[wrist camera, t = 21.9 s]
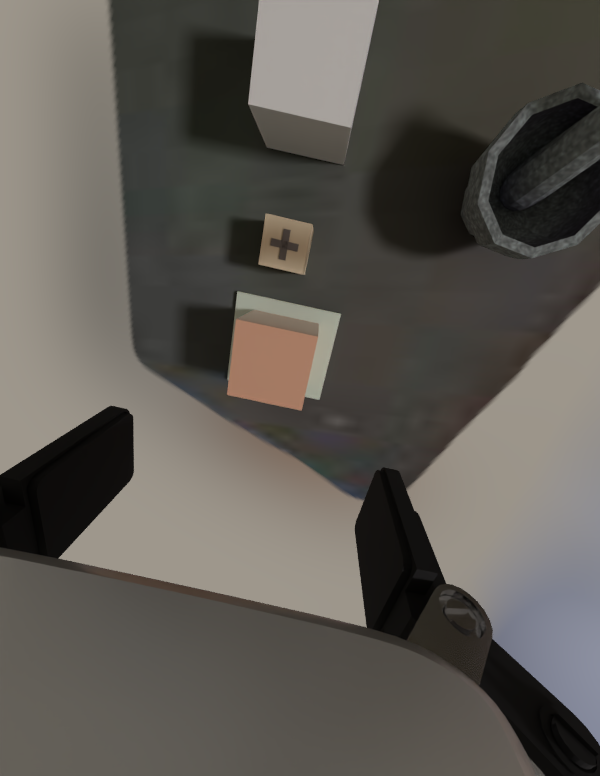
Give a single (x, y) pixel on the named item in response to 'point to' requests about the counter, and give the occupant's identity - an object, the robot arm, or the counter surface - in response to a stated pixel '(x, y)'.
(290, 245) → the tan plus cube
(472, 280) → the counter surface
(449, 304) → the counter surface
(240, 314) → the sage pad
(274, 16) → the white cube
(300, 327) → the orange-brown cube
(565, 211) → the mortar and pestle
